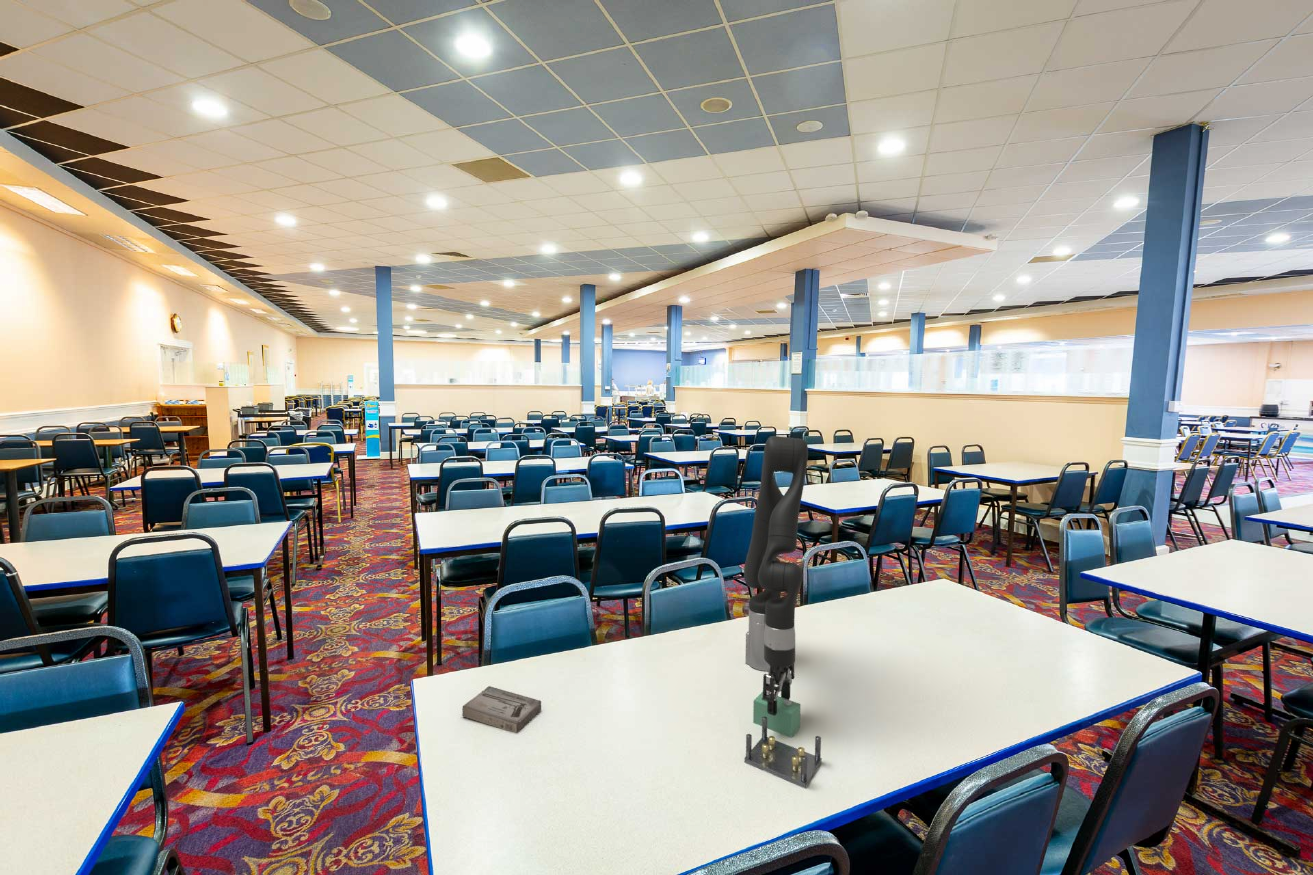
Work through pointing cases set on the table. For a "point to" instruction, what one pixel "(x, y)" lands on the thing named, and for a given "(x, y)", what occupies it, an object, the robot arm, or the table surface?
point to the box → (502, 709)
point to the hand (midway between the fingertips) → (779, 706)
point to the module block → (778, 715)
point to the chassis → (783, 758)
